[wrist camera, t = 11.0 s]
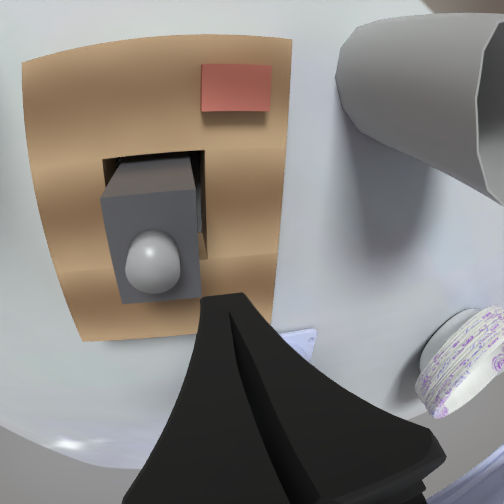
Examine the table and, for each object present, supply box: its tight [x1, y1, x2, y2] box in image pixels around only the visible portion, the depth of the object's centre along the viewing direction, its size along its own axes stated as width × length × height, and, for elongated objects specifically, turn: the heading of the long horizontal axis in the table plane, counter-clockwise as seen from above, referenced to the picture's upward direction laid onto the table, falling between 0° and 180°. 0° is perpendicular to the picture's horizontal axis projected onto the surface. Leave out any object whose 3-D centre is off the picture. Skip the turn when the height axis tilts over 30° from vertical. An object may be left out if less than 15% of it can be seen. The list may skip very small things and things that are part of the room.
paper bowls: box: [415, 305, 504, 419], centre depth 30 cm, size 15×15×8 cm
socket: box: [22, 34, 292, 342], centre depth 15 cm, size 16×12×4 cm
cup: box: [335, 13, 504, 206], centre depth 12 cm, size 8×8×10 cm
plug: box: [100, 151, 202, 304], centre depth 13 cm, size 4×3×8 cm
